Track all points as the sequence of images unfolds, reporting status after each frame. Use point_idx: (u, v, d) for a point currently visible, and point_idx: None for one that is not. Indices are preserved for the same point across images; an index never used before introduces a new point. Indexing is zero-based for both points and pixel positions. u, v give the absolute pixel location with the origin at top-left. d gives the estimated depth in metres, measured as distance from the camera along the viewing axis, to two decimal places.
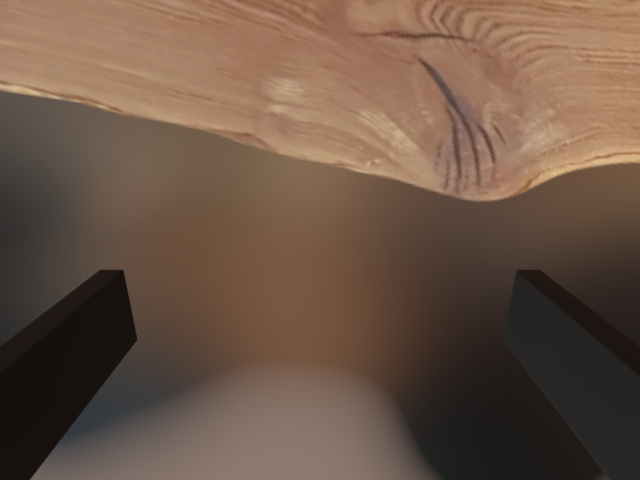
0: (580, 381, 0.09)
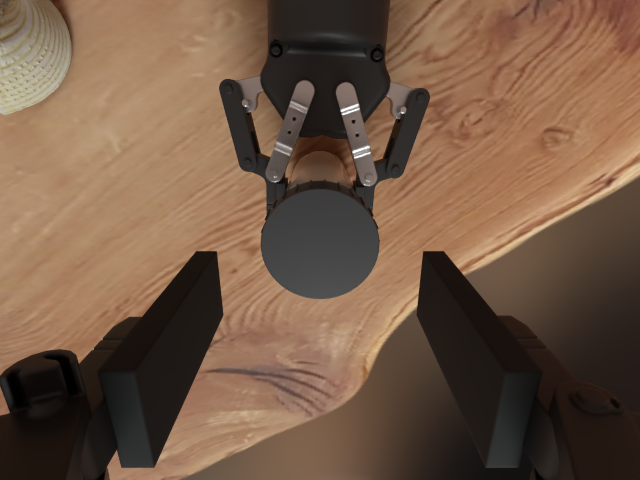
0: (452, 341, 0.11)
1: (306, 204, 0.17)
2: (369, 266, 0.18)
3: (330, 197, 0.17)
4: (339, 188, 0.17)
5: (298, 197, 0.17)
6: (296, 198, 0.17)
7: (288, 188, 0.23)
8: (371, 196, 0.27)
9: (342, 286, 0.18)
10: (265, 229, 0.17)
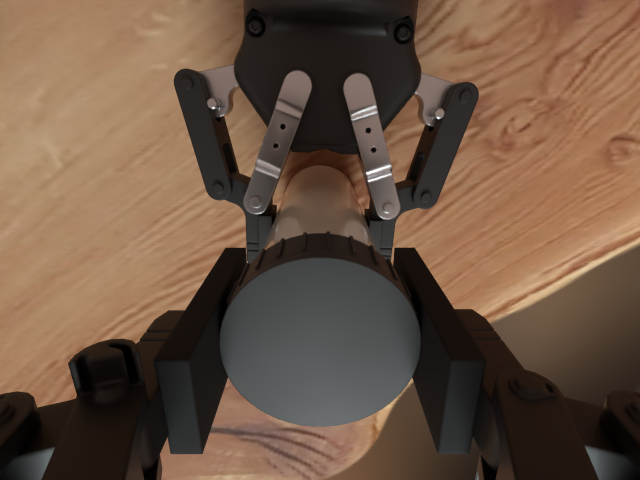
0: None
1: (295, 283, 0.10)
2: (403, 379, 0.11)
3: (338, 271, 0.10)
4: (354, 252, 0.10)
5: (282, 271, 0.10)
6: (278, 273, 0.10)
7: (273, 230, 0.15)
8: (391, 232, 0.19)
9: (357, 409, 0.11)
10: (226, 322, 0.10)
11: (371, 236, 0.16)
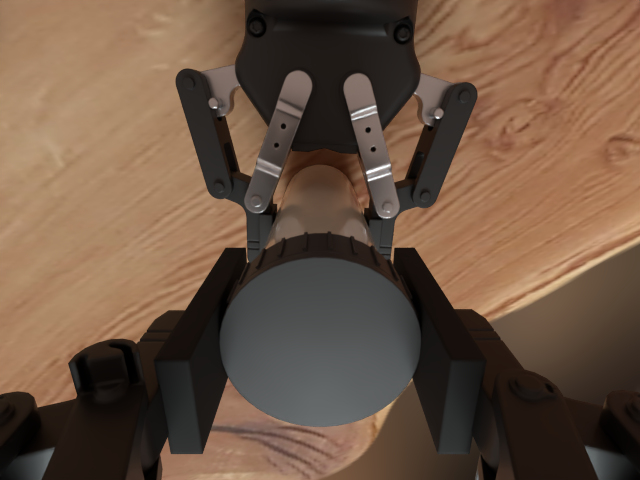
0: None
1: (244, 360, 0.11)
2: (371, 277, 0.10)
3: (234, 326, 0.10)
4: (228, 301, 0.10)
5: (231, 369, 0.11)
6: (233, 371, 0.11)
7: (274, 228, 0.15)
8: (390, 231, 0.19)
9: (402, 324, 0.10)
10: (280, 416, 0.11)
11: None
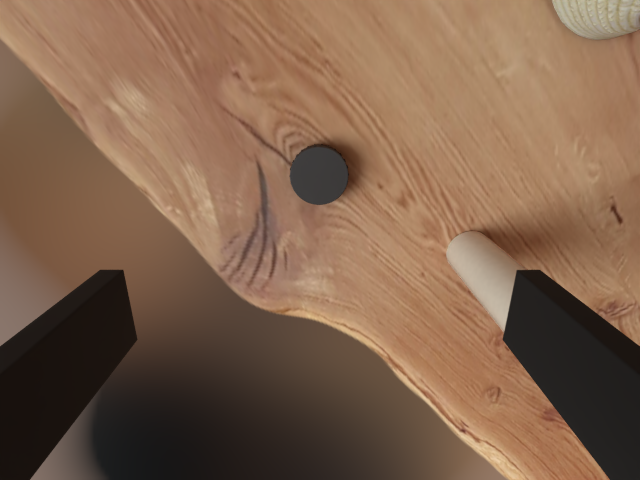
0: (581, 381, 0.09)
1: (297, 180, 0.36)
2: (333, 152, 0.35)
3: (294, 168, 0.36)
4: (292, 162, 0.36)
5: (293, 183, 0.36)
6: (293, 184, 0.37)
7: None
8: None
9: (342, 167, 0.36)
10: (307, 200, 0.37)
11: None
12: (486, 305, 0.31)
